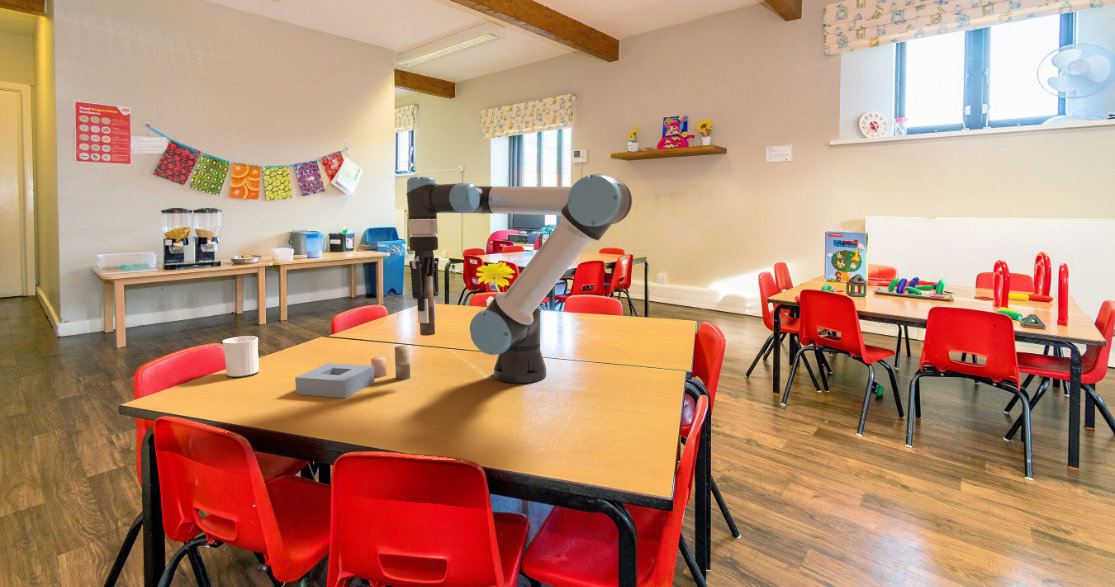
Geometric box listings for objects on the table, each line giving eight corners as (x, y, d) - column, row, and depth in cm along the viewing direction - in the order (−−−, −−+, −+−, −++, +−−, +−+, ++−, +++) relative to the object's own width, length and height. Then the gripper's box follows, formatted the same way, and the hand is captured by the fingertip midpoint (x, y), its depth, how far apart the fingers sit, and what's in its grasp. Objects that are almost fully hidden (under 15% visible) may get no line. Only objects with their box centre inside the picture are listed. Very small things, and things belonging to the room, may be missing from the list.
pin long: (437, 332, 151) (435, 275, 149) (431, 335, 147) (428, 277, 145) (424, 332, 152) (421, 275, 150) (417, 335, 148) (414, 277, 146)
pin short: (389, 373, 158) (388, 357, 158) (382, 377, 155) (381, 360, 154) (376, 373, 159) (375, 356, 159) (369, 376, 155) (368, 359, 155)
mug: (266, 372, 159) (264, 338, 157) (235, 380, 151) (232, 344, 150) (246, 367, 165) (244, 334, 163) (215, 374, 157) (212, 339, 156)
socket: (374, 381, 151) (373, 366, 150) (345, 398, 137) (344, 380, 136) (329, 378, 153) (328, 363, 153) (296, 394, 140) (295, 377, 139)
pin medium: (412, 376, 156) (411, 345, 155) (406, 380, 152) (405, 349, 151) (400, 375, 157) (398, 345, 155) (393, 379, 153) (391, 348, 152)
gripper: (424, 234, 155) (427, 315, 158) (395, 236, 139) (399, 326, 142) (449, 234, 154) (452, 316, 157) (422, 236, 137) (426, 327, 140)
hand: (427, 320), depth 149 cm, fingers closed on pin long, 4 cm apart
